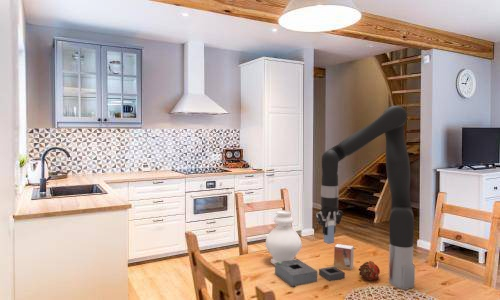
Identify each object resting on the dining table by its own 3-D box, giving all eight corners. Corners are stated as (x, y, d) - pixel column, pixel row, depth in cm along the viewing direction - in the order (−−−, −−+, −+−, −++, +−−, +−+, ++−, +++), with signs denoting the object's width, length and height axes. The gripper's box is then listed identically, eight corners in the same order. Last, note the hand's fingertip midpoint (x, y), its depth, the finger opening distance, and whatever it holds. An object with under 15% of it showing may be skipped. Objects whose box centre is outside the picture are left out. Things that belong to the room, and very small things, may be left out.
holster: (344, 279, 159) (344, 272, 159) (329, 282, 156) (329, 275, 156) (333, 272, 167) (333, 266, 166) (318, 275, 163) (318, 268, 163)
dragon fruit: (367, 288, 153) (367, 281, 165) (384, 278, 152) (383, 272, 163) (355, 270, 155) (356, 265, 167) (372, 260, 154) (371, 255, 165)
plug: (334, 242, 160) (334, 220, 159) (328, 243, 159) (328, 221, 158) (329, 240, 163) (330, 218, 162) (323, 241, 161) (324, 219, 161)
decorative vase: (308, 265, 176) (308, 214, 175) (275, 270, 170) (275, 217, 168) (290, 253, 193) (291, 207, 191) (259, 258, 186) (259, 209, 185)
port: (317, 282, 156) (317, 269, 156) (292, 287, 151) (292, 274, 151) (297, 269, 170) (297, 258, 170) (274, 273, 166) (275, 261, 165)
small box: (333, 268, 172) (333, 246, 171) (336, 264, 177) (336, 243, 176) (350, 271, 168) (351, 249, 168) (353, 267, 173) (353, 245, 173)
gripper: (321, 198, 153) (320, 238, 154) (348, 195, 159) (347, 234, 160) (311, 195, 160) (310, 233, 161) (337, 193, 166) (336, 230, 167)
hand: (329, 234), depth 160 cm, fingers closed on plug, 3 cm apart
